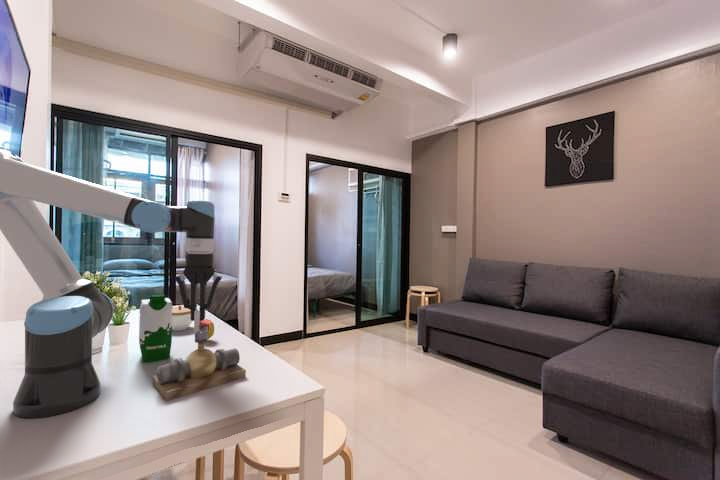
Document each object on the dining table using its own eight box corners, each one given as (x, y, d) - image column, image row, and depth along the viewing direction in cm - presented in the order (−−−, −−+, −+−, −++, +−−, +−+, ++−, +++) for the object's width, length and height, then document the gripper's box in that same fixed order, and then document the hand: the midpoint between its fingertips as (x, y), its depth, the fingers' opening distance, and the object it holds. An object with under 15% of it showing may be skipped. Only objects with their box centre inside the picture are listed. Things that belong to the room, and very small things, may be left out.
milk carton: (139, 364, 101) (141, 298, 101) (138, 355, 108) (139, 292, 108) (173, 358, 106) (174, 295, 106) (169, 350, 114) (170, 290, 113)
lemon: (196, 343, 121) (196, 321, 121) (199, 338, 126) (199, 317, 126) (212, 342, 122) (213, 320, 122) (215, 337, 128) (215, 316, 128)
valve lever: (207, 342, 91) (207, 333, 91) (194, 343, 90) (194, 334, 90) (211, 326, 105) (211, 319, 105) (200, 327, 104) (200, 319, 104)
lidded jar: (167, 325, 142) (168, 303, 142) (196, 324, 145) (196, 302, 145) (161, 333, 132) (161, 309, 131) (191, 331, 135) (192, 308, 135)
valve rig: (166, 400, 81) (167, 357, 80) (152, 383, 89) (152, 344, 89) (245, 376, 95) (246, 339, 95) (226, 364, 103) (227, 330, 103)
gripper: (172, 253, 96) (169, 335, 96) (220, 254, 99) (218, 334, 99) (179, 251, 103) (177, 328, 104) (224, 252, 106) (222, 327, 107)
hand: (197, 331), depth 102 cm, fingers closed
